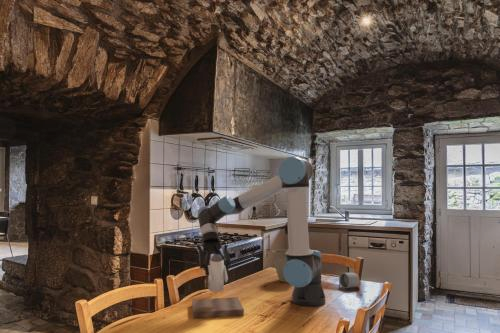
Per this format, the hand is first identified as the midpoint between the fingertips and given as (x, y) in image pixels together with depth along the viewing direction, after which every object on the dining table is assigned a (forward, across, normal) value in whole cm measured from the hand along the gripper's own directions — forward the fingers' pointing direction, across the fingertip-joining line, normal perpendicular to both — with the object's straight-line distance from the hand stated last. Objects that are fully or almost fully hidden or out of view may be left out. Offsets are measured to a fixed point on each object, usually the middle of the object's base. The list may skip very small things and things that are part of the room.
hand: (218, 281), depth 147 cm
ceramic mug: (-1, -74, -19) cm, 76 cm away
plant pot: (-17, -49, -35) cm, 62 cm away
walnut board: (+7, 0, -11) cm, 13 cm away
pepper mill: (0, 0, -6) cm, 6 cm away
